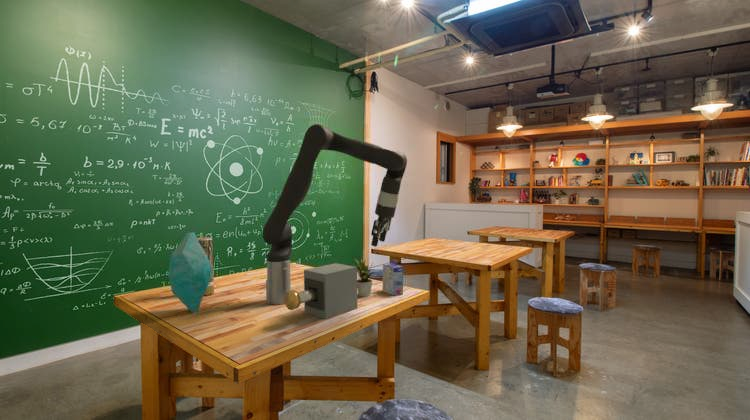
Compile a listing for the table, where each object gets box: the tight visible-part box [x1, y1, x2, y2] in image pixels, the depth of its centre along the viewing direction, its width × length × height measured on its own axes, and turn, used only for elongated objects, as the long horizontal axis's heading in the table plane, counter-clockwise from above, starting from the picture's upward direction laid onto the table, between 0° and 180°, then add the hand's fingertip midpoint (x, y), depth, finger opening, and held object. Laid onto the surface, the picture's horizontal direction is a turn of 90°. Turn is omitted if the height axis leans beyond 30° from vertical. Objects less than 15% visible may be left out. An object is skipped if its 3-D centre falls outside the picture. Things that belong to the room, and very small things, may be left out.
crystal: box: [167, 232, 211, 313], centre depth 139 cm, size 12×14×30 cm
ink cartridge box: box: [382, 259, 404, 296], centre depth 163 cm, size 10×6×14 cm, turn 27°
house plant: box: [348, 258, 378, 298], centre depth 161 cm, size 14×14×16 cm
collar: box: [303, 277, 324, 311], centre depth 134 cm, size 1×10×10 cm, turn 49°
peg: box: [284, 288, 317, 311], centre depth 131 cm, size 15×6×6 cm, turn 139°
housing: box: [303, 262, 358, 320], centre depth 140 cm, size 16×12×16 cm
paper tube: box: [197, 236, 215, 296], centre depth 163 cm, size 7×7×25 cm
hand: (377, 243), depth 144 cm, fingers open, 8 cm apart
